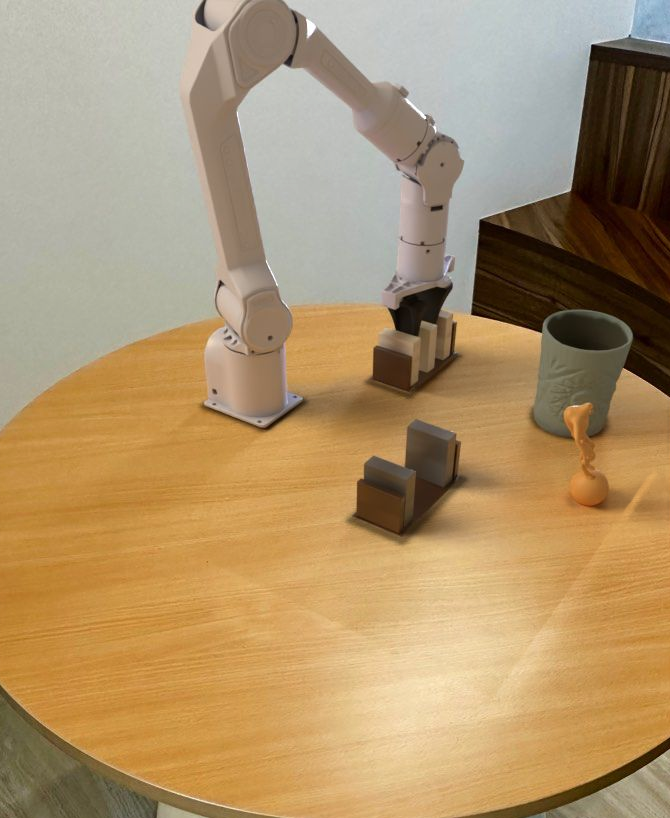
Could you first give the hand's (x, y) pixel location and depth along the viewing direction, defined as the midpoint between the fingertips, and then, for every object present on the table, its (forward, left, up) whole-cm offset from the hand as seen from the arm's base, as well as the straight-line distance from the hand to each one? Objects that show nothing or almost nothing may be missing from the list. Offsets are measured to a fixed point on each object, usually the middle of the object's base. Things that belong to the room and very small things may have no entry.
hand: (415, 341), depth 114 cm
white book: (0, 0, -3) cm, 3 cm away
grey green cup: (+22, 0, -4) cm, 22 cm away
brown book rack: (+14, -25, -4) cm, 29 cm away
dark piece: (0, 0, -4) cm, 4 cm away
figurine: (+29, -15, -4) cm, 33 cm away
